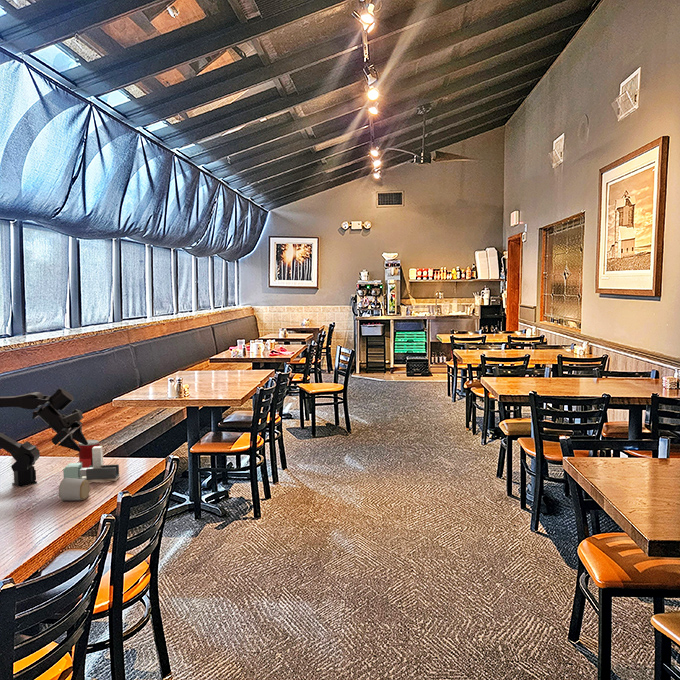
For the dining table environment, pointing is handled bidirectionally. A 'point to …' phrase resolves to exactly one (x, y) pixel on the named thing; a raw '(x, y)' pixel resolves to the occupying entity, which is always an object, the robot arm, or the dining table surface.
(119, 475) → the base board
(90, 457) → the canned food
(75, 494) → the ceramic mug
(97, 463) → the light grey l-shaped piece
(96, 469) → the sleeve
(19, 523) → the dining table surface
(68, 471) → the socket
